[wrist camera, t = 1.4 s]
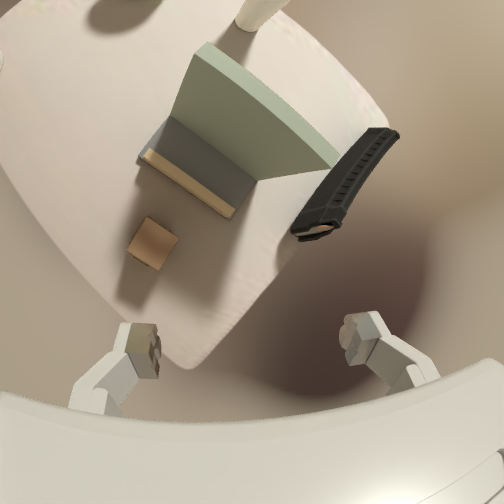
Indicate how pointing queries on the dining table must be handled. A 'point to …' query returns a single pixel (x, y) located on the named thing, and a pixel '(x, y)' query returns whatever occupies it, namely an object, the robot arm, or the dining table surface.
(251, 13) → the drinking glass
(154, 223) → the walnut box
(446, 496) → the robot arm
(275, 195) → the dining table surface
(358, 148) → the magazine
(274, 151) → the wall board
